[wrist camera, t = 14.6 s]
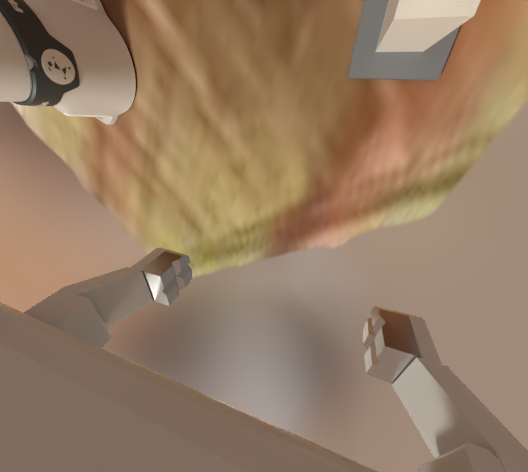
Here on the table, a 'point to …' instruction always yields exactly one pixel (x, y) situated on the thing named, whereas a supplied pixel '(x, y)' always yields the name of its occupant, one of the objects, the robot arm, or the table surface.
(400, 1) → the tapered lotion bottle
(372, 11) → the peg stand
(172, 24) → the table surface
